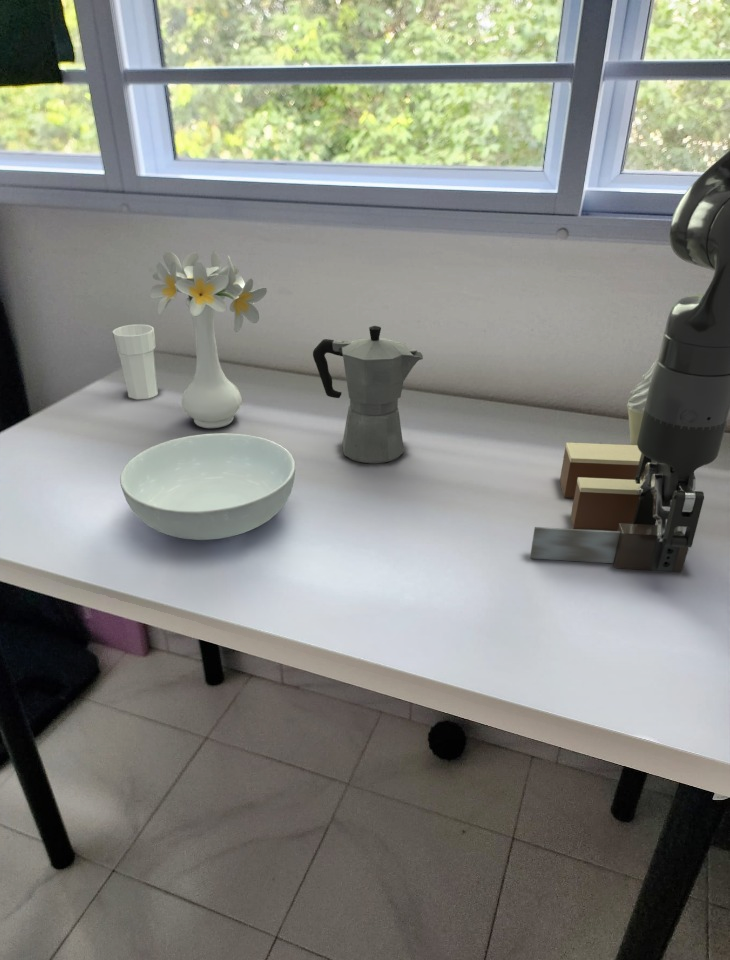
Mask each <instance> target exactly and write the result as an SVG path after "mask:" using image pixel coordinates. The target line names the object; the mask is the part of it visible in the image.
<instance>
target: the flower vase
mask: <svg viewBox="0 0 730 960" xmlns="http://www.w3.org/2000/svg"><path fill="white" fill-rule="evenodd" d="M199 258H200V254H199V253H198V252H195V251H194V252H191V253H189V254H187V256H186V257H184V259H183V261H182V263H181V261H180V259H179V257H178V255H176V254H175V253H173V252H172V251H169V250H166V251H165V252H164V253H163V262H164V263H163V262H161V261H158V262H157V263H156V272H154V273H153V274H152V278H153V279H154V280H155V281H159V282H162V283H157V284H154V285H152V287H151V288H150V289H149V291H148V297H149V298H150V299H153V300H156V299H160V301H159V303H158V306H157V314H158V315H162V314H163V313H164V311H166V308H167V307H168V305H169V303H171V301H172V300H175V299H176V298H177V295H178V293H181V294H184V295H186V296H188V297H187V298H186V299H185V304H186V306H187V307H188V310H189V312H190V317H191V319H192V324H193V330H194V339H195V354H196V355H195V358H196V365H195V371H194V375H193V378H192V381H191V382H190V383H189V384H188V385H187V386H186V388H185V390H184V392H183V394H182V397H181V408H182V410H183V411H184V412H185V413H186V414H187V416H189V417H190V418H192V419H193V422H194V424H195V425H196V426H198V427H200V428H203V429H204V428H205V429H219V428H223V427H226V426H228V425H230V424H231V423H233V421H234V418H235V417H234V416H235V414H237V413H238V411H239V410H240V408H241V406H242V404H243V398H242V394H241V392H240V390H239V388H238V387H237V386H236V385H235V384H234V383H233V382H232V381H231V380H230V379H228V377H227V375H225V373H224V371H223V368H222V366H221V363H220V359H219V355H218V354H219V353H218V347H217V339H216V332H215V331H216V330H215V312H218V313H226V311H227V304H226V303H225V301H224V300H225V299H226V298H229V299H230V300H232V301H231V302H230V303H229V310H230V312H232V313H233V314H234V319H233V330H234V332H235V333H238V332H239V331H240V330H241V328H242V326H243V324H244V317H245V318H246V320H247V321H248V322H250V323H252V324H258V322H259V320H260V314H259V310H258V309H257V307H256V306H255V304H256V303H257V302H260V301H261V300H262V299H263V298H264V297H265V296H266V295H267V293H268V289H267V287H265V286H264V287H259V288H257V289H254V290H253V287H254V280H253V278H248V279H247V280H246V282H245V280H244V279H243V277H242V275H240V274H239V273H240V268H239V267H238V266H237V265H236V264H233V262H232V259H231V257H230V255H229V254H228V255H227V265H226V266H224V267H223V268H222V262H221V258H220V255H219V254H218V253H217V252H216V251H215V250H213V251H211V254H210V264H211V266H210V267H205V265H204V263H203V262H202V261H199ZM164 264H165V265H164Z"/></svg>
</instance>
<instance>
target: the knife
mask: <svg viewBox="0 0 730 960" xmlns="http://www.w3.org/2000/svg"><path fill="white" fill-rule="evenodd" d="M657 525H658V524H655V525H644V524H625V523H619V527H618V531H609V530H591V529H574V528H565V527H564V528H562V527H543V526H534V529H533V537H532V542H531V549H530V554H529V558H530V559H532V560H533V559H534V560H550V561H551V560H553V561H568V562H569V561H570V562H585V563H586V562H587V563H603V564H613V565H614V568H615V569H625V570H643V571H653V570H652V569H651V566H650V562H651V559H652V555H653V551H654V547H655V543H656V539H657ZM686 528H687V527H686ZM674 531H678V527H676V528H675V529H674ZM689 549H690V548H688V547H680V549H679V552H678V556H677V559H676V563H675V567H674V570H673V571H672V572H674V573H675V572H677V573H682V572H683V569H684V566H685V562H686V559H687V555H688V553H689Z"/></svg>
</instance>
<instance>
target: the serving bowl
mask: <svg viewBox="0 0 730 960" xmlns="http://www.w3.org/2000/svg"><path fill="white" fill-rule="evenodd" d="M295 476H296V461H295V458H294V456H293V455H292V453H290V451H289V450H288V449H287V448H285V447H284V446H282V445H281V444H279V443H277V442H275V441H273V440H271V439H267V438H265V437H260V436H256V435H249V434H242V433H230V432H229V433H227V432H226V433H223V432H221V433H205V434H203V433H202V434H195V435H194V434H193V435H188V436H182V437H179V438H173V439H171V440H166V441H164V442H161V443H158V444H156V445H153V446H151V447H148V448H147V449H145V450H143V451H141V452H139V453H138V454H137V455H135V456H133V457H132V458H131V459H130V460H129V461H128V462H127V463H126V464H125V466H124V467H123V469H122V470H121V473H120V476H119V484H120V487H121V491H122V493H123V496H124V498H125V501H126V503H127V505H128V507H129V508H130V510H131V511H132V513H134V515H135V516H136V517H137V518H138V519H139V520H140V521H141V522H142V523H144V524H145V525H147V526H148V527H149V528H151V529H153V530H155V531H157V532H159V533H161V534H164V535H166V536H170V537H174V538H178V539H184V540H193V541H195V540H196V541H205V540H206V541H207V540H208V541H209V540H219V539H226V538H230V537H234V536H238V535H241V534H244V533H248V532H250V531H252V530H254V529H256V528H258V527H260V526H262V525H263V524H265V523H267V522H268V521H270V520H271V519H272V518H273V517H274V516H276V515H277V514H278V512H280V511H281V509H282V508H283V507H284V506H285V504H286V503H287V501H288V499H289V497H290V495H291V493H292V490H293V486H294V483H295Z"/></svg>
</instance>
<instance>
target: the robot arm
mask: <svg viewBox="0 0 730 960" xmlns="http://www.w3.org/2000/svg"><path fill="white" fill-rule="evenodd" d="M668 240H669V241H668V242H669V244H670V248H671V250H672V252H673V253H674V254H675V256H677V257H678V258H679V259H681V260H683V261H684V262H685V263H689V264H692V265H694V266H698V267H701V268H705V269H708V270H711V271H714V272H713V277H712V279H711V281H710V283H709V285H708V287H707V288H706V290H705V292H704V293H698V294H697V293H696V294H691V295H686V296H684V297H682V298H680V299H678V300H677V301H676V302H674V304H673V305H672V307H671V308H670V310H669V313H668V315H667V316H668V317H667V320H666V323H665V328H664V332H663V336H662V341H661V345H660V350H659V354H658V357H659V359H658V362H657V366H656V368H655V371H654V373H653V376H652V379H651V382H650V386H649V391H648V395H647V400H646V405H645V409H644V413H643V418H642V423H641V427H640V432H639V436H638V441H637V446H638V449H639V450H640V452H641V457H640V461H639V465H638V469H637V473H636V476H635V482H636V484H640V485H639V487H638V489H637V493H638V496H641V497H639V499H638V504H637V508H636V512H635V517H634V521H633V524H644V525H657V539H656V543H655V547H654V551H653V555H652V559H651V562H650V566H651V569H652V570H651V571H652V572H654V573H672V572H673V570H674V567H675V563H676V559H677V556H678V552H679V549H680V547H688V548H689V549H690V548H692V546H693V543H694V539H695V535H696V531H697V527H698V524H699V520H700V516H701V512H702V508H703V505H704V500H705V492H704V491H702V490H701V491H700V490H698V491H697V490H696V486H697V485H696V484H697V481H696V480H697V479H696V475H695V471H696V470H697V469H699V468H702V467H703V466H706V465H710V464H711V463H713V462H714V461H715V460H716V459H717V457H718V455H719V452H720V449H721V445H722V442H723V438H724V435H725V431H726V429H727V424H728V421H729V418H730V149H729V150H728V151H727V152H725V154H724V155H722V156H721V157H720V158H719V159H718V160H716V162H714V163H713V164H712V165H711V166H710V167H708V168H707V169H706V170H705V171H704V172H703V173H702V174H701V175H700V176H699V177H697V179H696V180H695V181H694V182H693V183H692V184H691V186H690V187H689V188H688V189H687V190H686V191H685V192H684V194H683V196H682V197H681V198H680V201H679V202H678V204H677V206H676V207H675V210H674V212H673V214H672V217H671V219H670V224H669V230H668ZM663 507H667V508H669V510H665V509H664V508H663ZM656 523H657V524H656ZM676 527H678V531H674V529H675V528H676ZM686 527H687V528H686Z"/></svg>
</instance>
